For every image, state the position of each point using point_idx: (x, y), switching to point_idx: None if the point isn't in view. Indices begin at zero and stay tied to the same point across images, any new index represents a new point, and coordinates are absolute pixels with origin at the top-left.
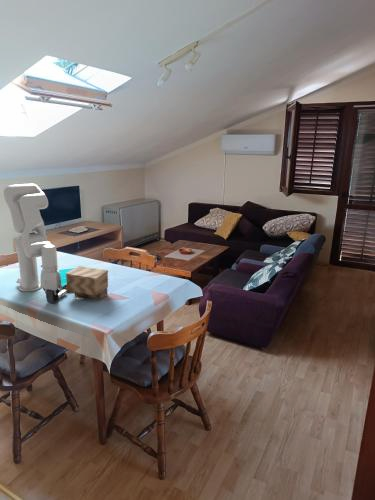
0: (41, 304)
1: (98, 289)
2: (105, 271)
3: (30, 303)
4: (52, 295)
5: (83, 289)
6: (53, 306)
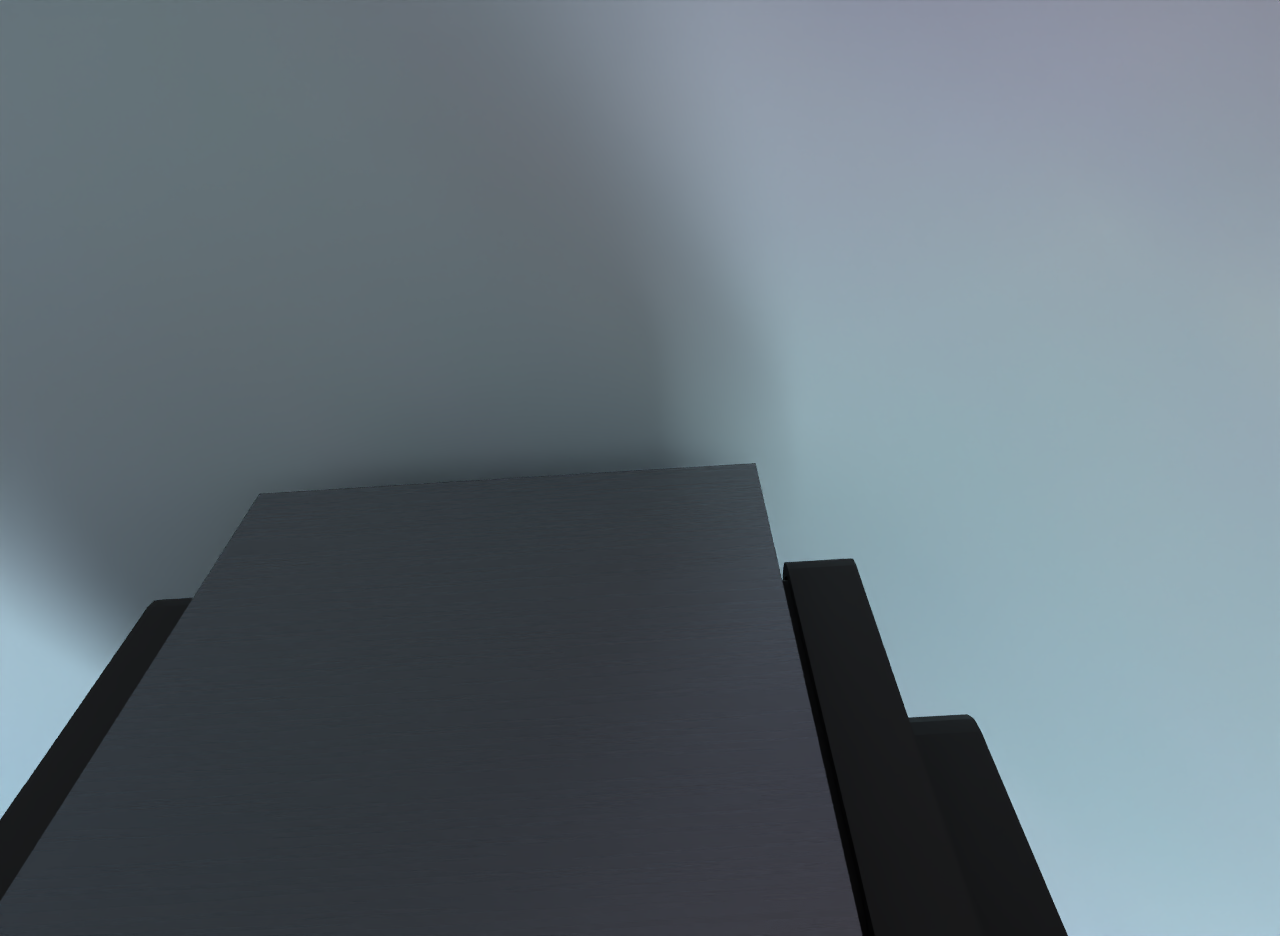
0: (967, 113)
1: None
2: None
3: None
4: (52, 893)
5: None
6: (37, 220)
